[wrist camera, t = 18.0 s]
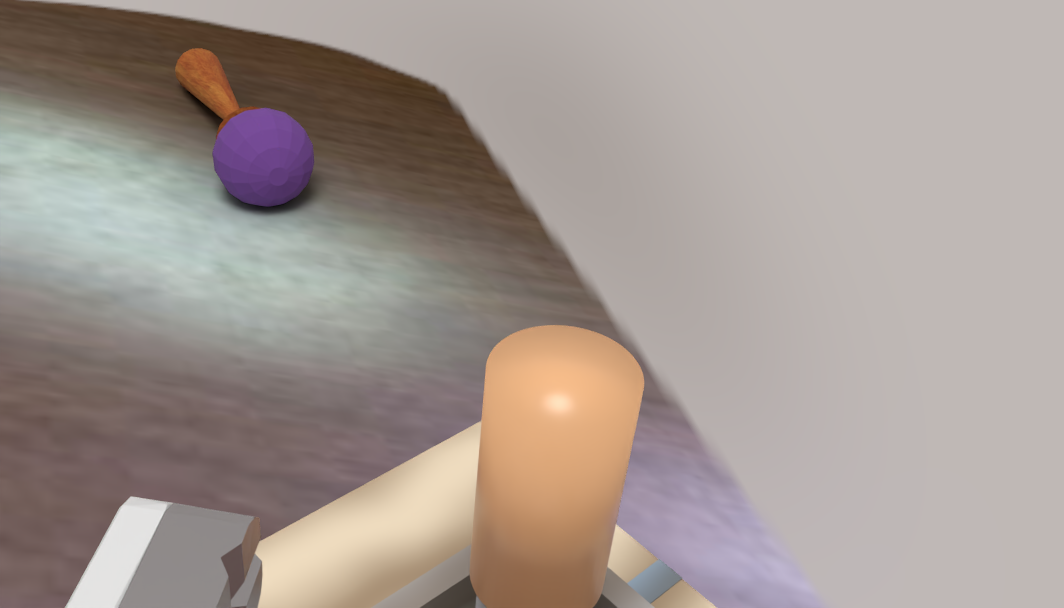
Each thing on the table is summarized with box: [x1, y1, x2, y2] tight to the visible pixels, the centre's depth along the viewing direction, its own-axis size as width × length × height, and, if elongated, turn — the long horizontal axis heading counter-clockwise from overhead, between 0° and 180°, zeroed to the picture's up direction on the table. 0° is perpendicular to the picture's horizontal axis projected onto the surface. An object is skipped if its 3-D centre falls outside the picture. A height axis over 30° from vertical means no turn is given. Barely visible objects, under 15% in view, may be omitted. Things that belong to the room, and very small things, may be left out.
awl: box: [469, 325, 644, 608], centre depth 31 cm, size 4×4×14 cm
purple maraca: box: [175, 48, 314, 207], centre depth 67 cm, size 6×6×20 cm
